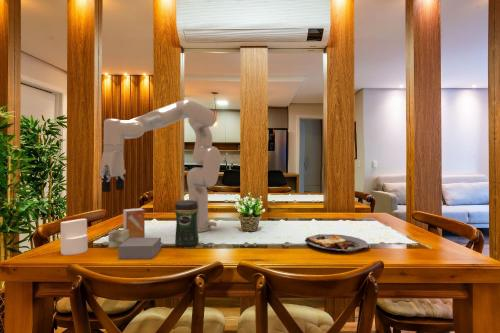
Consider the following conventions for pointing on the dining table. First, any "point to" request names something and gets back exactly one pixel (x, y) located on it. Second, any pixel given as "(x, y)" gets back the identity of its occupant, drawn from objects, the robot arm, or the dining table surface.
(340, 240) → the food plate
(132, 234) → the small box
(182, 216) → the coffee jar
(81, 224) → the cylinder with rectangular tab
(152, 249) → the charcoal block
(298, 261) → the dining table surface
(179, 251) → the dining table surface
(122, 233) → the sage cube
